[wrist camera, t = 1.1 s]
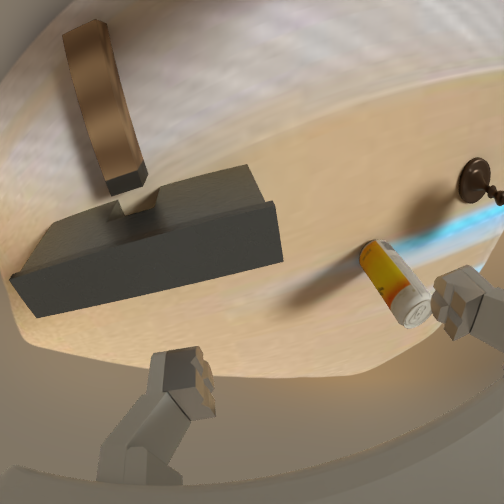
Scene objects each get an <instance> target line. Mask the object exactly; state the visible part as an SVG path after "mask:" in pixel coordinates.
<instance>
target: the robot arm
mask: <svg viewBox="0 0 504 504" xmlns="http://www.w3.org/2000/svg"><path fill="white" fill-rule="evenodd" d="M433 287H434V288H435V292H434V293H433V295H432V296H431V302H430V306H431V311H432V313H433V316H434V317H435V318H436V320H437V321H439V322H441V323H444V330H445V331H446V332H447V334H448V335H449V336H450V338H451V339H452V340H453V341H455V340H457V339H459V338H461V337H463V336H465V335H467V334H469V333H470V334H471V335H472V336H474V337H476V338H478V339H480V340H481V341H483V342H485V343H487V344H489V345H490V346H492V347H494V348H496V349H498V350H499V351H501V352H503V353H504V289H501V288H498V287H497V288H494V287H493V286H492V285H491V284H490V283H489V282H488V281H487V280H486V279H485V278H484V277H482V276H481V275H480V274H479V273H478V272H477V271H476V270H475V269H474V268H473V267H471V266H469V265H465V266H463V267H461V268H458V269H456V270H453V271H451V272H448V273H446V274H444V275H441V276H439V277H437V278H436V279H435V281H434V286H433ZM502 368H503V370H504V362H503V364H502ZM213 390H214V380H213V375H212V371H211V368H210V366H209V364H208V362H207V361H205V360H203V352H202V350H201V349H200V347H199V346H194V347H188V348H182V349H176V350H169V351H164V352H157V353H153V355H152V357H151V362H150V368H149V375H148V383H147V390H146V394H144V395H141V397H140V398H139V399H138V400H137V401H136V403H135V404H134V405H133V406H132V408H131V409H130V410H129V412H128V413H127V414H126V415H125V416H124V417H123V419H122V420H121V421H120V423H119V424H118V425H117V426H116V427H115V429H114V430H113V431H112V432H111V433H110V435H109V436H108V437H107V438H106V440H105V441H104V442H103V443H102V445H101V449H100V455H99V462H98V470H97V478H96V481H90V480H84V479H77V478H71V477H66V476H60V475H55V474H51V473H47V472H42V471H38V470H35V469H31V468H27V467H24V466H20V465H12V466H10V467H9V468H8V469H6V470H5V471H4V472H3V473H2V474H1V475H0V504H504V376H503V377H502V378H500V379H499V380H498V381H496V382H495V383H493V384H492V385H490V386H489V387H488V388H486V389H484V390H483V391H481V392H480V393H478V394H477V395H475V396H474V397H472V398H470V399H469V400H467V401H466V402H464V403H462V404H461V405H459V406H457V407H456V408H454V409H452V410H450V411H448V412H447V413H445V414H443V415H441V416H439V417H437V418H436V419H434V420H432V421H430V422H428V423H426V424H424V425H422V426H420V427H418V428H416V429H414V430H411V431H409V432H407V433H405V434H403V435H400V436H398V437H396V438H393V439H391V440H389V441H386V442H384V443H381V444H379V445H376V446H374V447H371V448H368V449H366V450H363V451H360V452H357V453H354V454H352V455H349V456H345V457H342V458H339V459H336V460H333V461H330V462H326V463H322V464H319V465H315V466H311V467H307V468H303V469H299V470H295V471H291V472H286V473H282V474H276V475H271V476H266V477H260V478H254V479H247V480H240V481H232V482H224V483H212V484H199V485H183V479H182V478H183V477H182V475H181V474H180V473H179V472H177V471H176V470H174V469H173V468H171V467H170V466H168V463H169V462H170V460H171V458H172V456H173V454H174V453H175V451H176V449H177V447H178V446H179V444H180V442H181V440H182V438H183V437H184V435H185V433H186V431H187V429H188V427H189V426H190V424H191V421H194V420H200V419H207V418H213V417H216V409H215V399H214V397H213V396H212V394H211V393H212V391H213Z"/></svg>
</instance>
